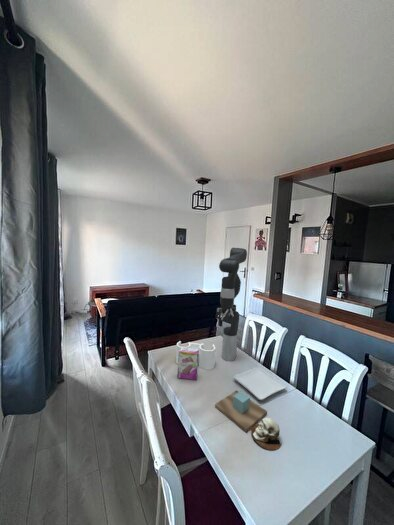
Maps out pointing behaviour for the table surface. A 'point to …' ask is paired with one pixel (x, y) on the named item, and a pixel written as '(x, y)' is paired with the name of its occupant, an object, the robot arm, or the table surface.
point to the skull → (266, 434)
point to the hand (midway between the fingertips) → (225, 324)
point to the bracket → (200, 355)
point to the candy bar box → (188, 363)
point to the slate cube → (241, 402)
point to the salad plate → (259, 382)
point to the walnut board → (240, 420)
